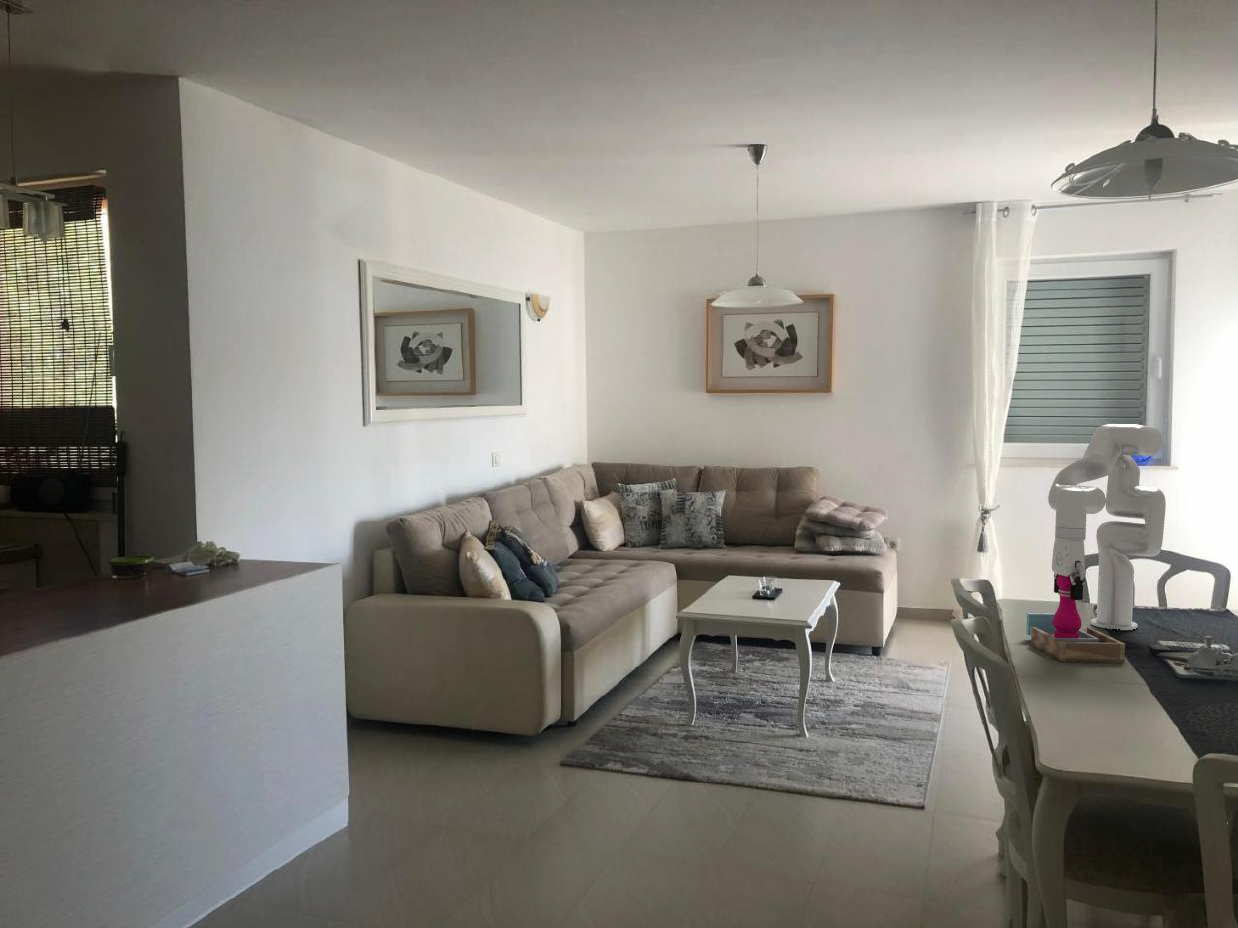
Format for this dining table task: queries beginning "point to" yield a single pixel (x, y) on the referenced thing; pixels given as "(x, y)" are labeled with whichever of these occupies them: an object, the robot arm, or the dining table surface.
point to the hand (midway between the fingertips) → (1067, 596)
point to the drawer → (1046, 624)
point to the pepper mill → (1066, 612)
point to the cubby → (1080, 648)
